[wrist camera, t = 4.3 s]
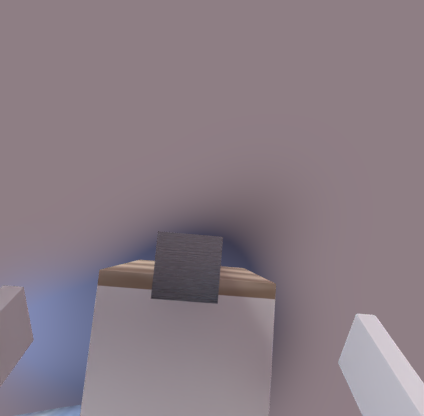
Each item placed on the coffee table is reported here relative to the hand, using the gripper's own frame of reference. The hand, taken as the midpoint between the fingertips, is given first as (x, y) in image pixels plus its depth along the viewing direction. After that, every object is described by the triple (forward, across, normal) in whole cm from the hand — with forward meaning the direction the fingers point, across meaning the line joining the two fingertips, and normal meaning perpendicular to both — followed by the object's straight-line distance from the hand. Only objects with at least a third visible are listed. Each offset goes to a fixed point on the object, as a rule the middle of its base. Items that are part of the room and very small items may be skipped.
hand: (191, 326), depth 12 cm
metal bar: (+13, 0, -6) cm, 14 cm away
